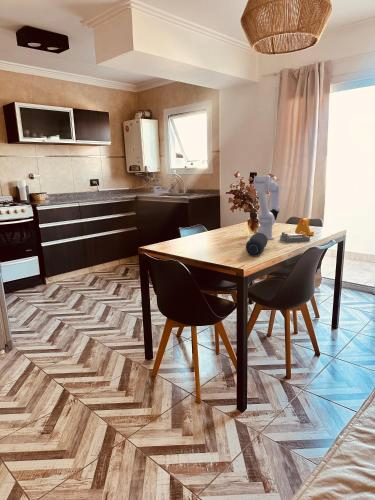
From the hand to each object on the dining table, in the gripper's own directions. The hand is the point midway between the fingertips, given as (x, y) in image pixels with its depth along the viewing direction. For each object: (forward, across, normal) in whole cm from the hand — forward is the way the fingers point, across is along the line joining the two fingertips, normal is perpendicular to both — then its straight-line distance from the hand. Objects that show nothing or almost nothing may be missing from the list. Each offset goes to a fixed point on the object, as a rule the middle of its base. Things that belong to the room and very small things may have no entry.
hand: (274, 219), depth 247 cm
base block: (+10, -24, -5) cm, 27 cm away
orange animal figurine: (+11, -9, -19) cm, 24 cm away
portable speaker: (+11, -46, +28) cm, 55 cm away
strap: (+7, -24, -4) cm, 25 cm away
